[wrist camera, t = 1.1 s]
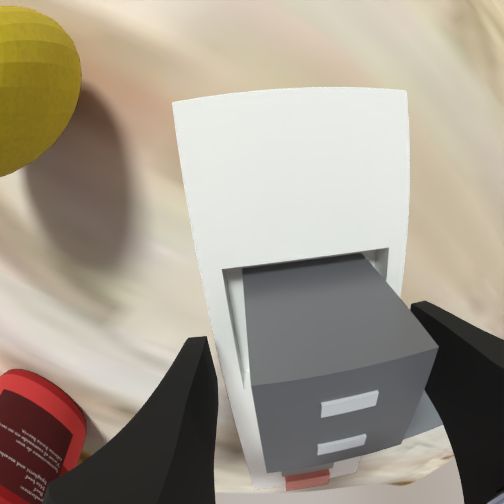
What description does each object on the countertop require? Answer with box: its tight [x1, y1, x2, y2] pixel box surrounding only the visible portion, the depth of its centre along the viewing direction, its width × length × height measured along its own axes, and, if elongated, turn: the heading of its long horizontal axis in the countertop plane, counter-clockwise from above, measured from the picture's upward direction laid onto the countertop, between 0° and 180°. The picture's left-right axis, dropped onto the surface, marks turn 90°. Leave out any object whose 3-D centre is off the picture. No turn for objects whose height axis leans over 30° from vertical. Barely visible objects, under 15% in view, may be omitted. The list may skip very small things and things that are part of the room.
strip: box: [172, 87, 410, 491], centre depth 14 cm, size 25×7×4 cm, turn 6°
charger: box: [242, 253, 439, 473], centre depth 9 cm, size 4×4×6 cm
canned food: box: [0, 369, 86, 504], centre depth 12 cm, size 8×8×11 cm
